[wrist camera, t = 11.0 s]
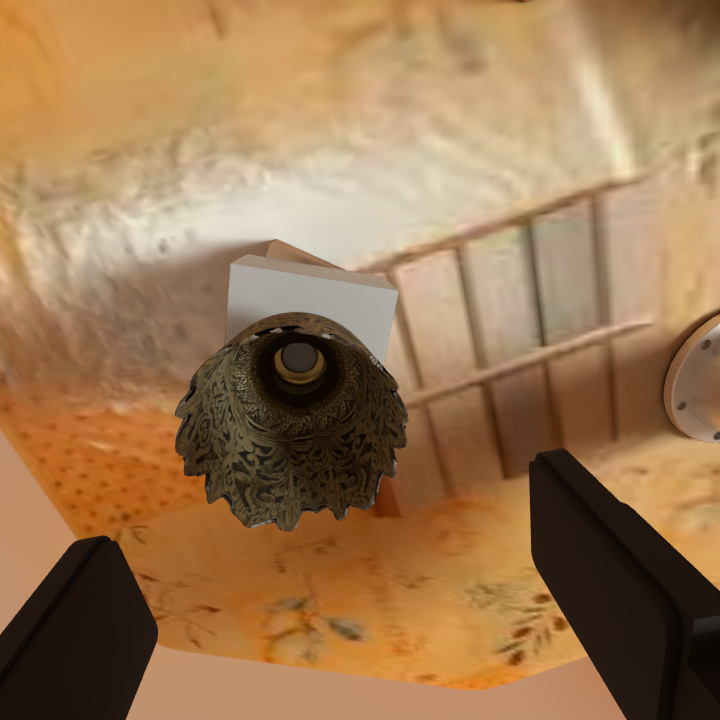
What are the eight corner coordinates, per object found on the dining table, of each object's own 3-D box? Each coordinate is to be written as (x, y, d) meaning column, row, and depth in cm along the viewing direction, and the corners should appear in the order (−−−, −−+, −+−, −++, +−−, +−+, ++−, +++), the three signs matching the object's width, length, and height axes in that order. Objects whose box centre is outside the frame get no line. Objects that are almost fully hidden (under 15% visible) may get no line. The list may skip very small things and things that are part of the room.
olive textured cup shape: (236, 428, 21) (199, 548, 14) (208, 290, 19) (143, 346, 11) (376, 412, 22) (412, 518, 15) (368, 276, 19) (407, 321, 12)
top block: (382, 276, 24) (398, 291, 20) (359, 396, 27) (368, 434, 22) (247, 253, 23) (230, 263, 18) (236, 381, 26) (219, 418, 21)
